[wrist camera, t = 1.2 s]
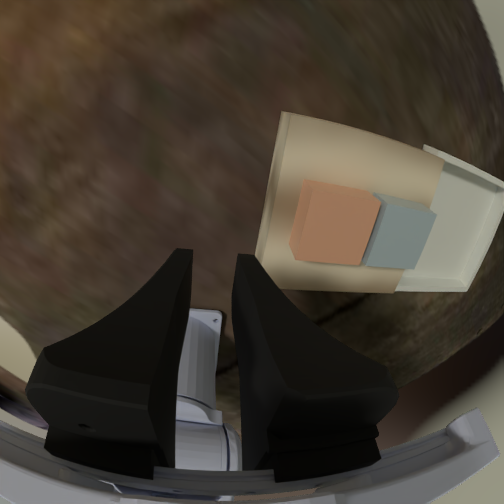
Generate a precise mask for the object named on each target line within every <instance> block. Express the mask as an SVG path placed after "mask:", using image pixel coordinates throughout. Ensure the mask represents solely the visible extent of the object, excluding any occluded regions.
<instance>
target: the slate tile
mask: <svg viewBox="0 0 504 504" xmlns="http://www.w3.org/2000/svg"><path fill="white" fill-rule="evenodd" d="M373 196H374V197H376V198H377V199H378V200H379V201H381V205H380V208H379V211H378V214H377V217H376V220H375V223H374V226H373V229H372V232H371V235H370V238H369V241H368V243H367V246H366V249H365V251H364V254H363V257H362V259H361V260H362V262H363V263H364V264H365V266H374V267H387V268H400V269H413V270H414V269H415V267H416V264H417V262H418V260H419V258H420V255H421V253H422V251H423V249H424V246H425V244H426V241H427V239H428V237H429V234H430V232H431V229H432V227H433V224H434V221H435V219H436V216H437V214H435V213H434V212H433V211H431V210H430V209H429V208H427V207H426V206H425V205H423V204H422V203H418V202H414V201H410V200H406V199H402V198H398V197H393V196H389V195H385V194H380V193H375V192H373Z"/></svg>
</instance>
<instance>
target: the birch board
mask: <svg viewBox="0 0 504 504" xmlns="http://www.w3.org/2000/svg"><path fill="white" fill-rule="evenodd" d="M444 162H445V160H444V159H442V158H440V157H438V156H436V155H433V154H431V153H429V152H426V151H424V150H422V149H419V148H416V147H414V146H411V145H408V144H405V143H402V142H400V141H397V140H394V139H391V138H388V137H385V136H381V135H378V134H375V133H372V132H368V131H365V130H361V129H358V128H354V127H351V126H347V125H343V124H339V123H335V122H331V121H327V120H323V119H319V118H314V117H309V116H305V115H300V114H295V113H290V112H284V111H281V116H280V121H279V127H278V132H277V138H276V143H275V149H274V154H273V160H272V165H271V171H270V176H269V182H268V187H267V193H266V198H265V204H264V209H263V215H262V220H261V225H260V231H259V236H258V242H257V247H256V252H255V257H256V258H257V259H258V261H259V262H260V264H261V265H262V266H263V268H264V269H265V271H266V272H267V273H268V275H269V276H270V277H271V279H272V280H273V281H274V282H275V284H276V285H277V286H278V287H279V289H294V290H314V291H337V292H366V293H394V291H395V289H396V287H397V285H398V283H399V281H400V279H401V277H402V275H403V272H404V270H405V269H400V268H387V267H374V266H365V264H364V263H363V262H362V260H361V262H360V265H349V264H336V263H324V262H311V261H299V260H295V259H294V256H293V253H292V251H291V248H290V246H289V240H290V236H291V232H292V228H293V224H294V219H295V215H296V211H297V207H298V202H299V198H300V193H301V189H302V185H303V180H304V179H306V180H312V181H318V182H324V183H330V184H335V185H341V186H346V187H351V188H356V189H361V190H366V191H368V192H370V193H371V194H372V195H373V192H375V193H380V194H385V195H389V196H393V197H398V198H402V199H406V200H410V201H414V202H418V203H422V204H423V205H425V206H426V207H427V208H429V209H430V206H431V203H432V200H433V197H434V194H435V191H436V188H437V185H438V182H439V179H440V175H441V172H442V169H443V165H444Z"/></svg>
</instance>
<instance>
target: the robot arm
mask: <svg viewBox="0 0 504 504" xmlns="http://www.w3.org/2000/svg"><path fill="white" fill-rule="evenodd" d="M192 263H193V250H191V249H179V248H177V249H175V250H174V251H173V253H172V254H171V255H170V257H169V258H168V259H167V260H166V262H165V263H164V264H163V265H162V266H161V268H160V269H159V270H158V271H157V272H156V273H155V274H154V275H153V277H152V278H151V279H150V280H149V281H148V282H147V283H146V284H145V285H144V286H143V287H142V288H141V289H140V290H139V291H138V292H136V293H135V294H134V295H133V296H132V297H131V298H130V299H129V300H127V301H126V302H125V303H124V304H122V305H121V306H120V307H119V308H117V309H116V310H114V311H113V312H112V313H110V314H109V315H107V316H106V317H104V318H103V319H101V320H100V321H98V322H96V323H95V324H93V325H91V326H89V327H88V328H86V329H84V330H82V331H80V332H78V333H76V334H74V335H72V336H70V337H68V338H66V339H63V340H61V341H59V342H57V343H54V344H52V345H50V346H47V347H44V348H43V350H42V352H41V354H40V355H39V357H38V359H37V361H36V364H35V366H34V369H33V371H32V373H31V376H30V378H29V381H28V383H27V386H26V388H25V392H26V396H27V398H28V400H29V401H30V403H31V404H32V406H33V407H34V408H35V409H36V411H37V412H38V413H39V414H40V415H41V416H42V418H43V419H44V420H45V421H46V422H47V423H48V424H49V429H48V432H47V436H46V439H43V438H40V437H38V436H35V435H33V434H30V433H28V432H25V431H23V430H20V429H18V428H16V427H14V426H11V425H9V424H7V423H5V422H3V421H0V496H1V497H2V498H4V499H5V500H7V501H9V502H11V503H12V504H429V503H431V502H433V501H435V500H436V499H438V498H440V497H441V496H443V495H445V494H446V493H448V492H449V491H451V490H453V489H454V488H455V487H457V486H459V485H460V484H462V483H463V482H464V481H466V480H467V479H469V478H470V477H472V476H473V475H475V474H476V473H477V472H479V471H480V470H482V469H483V468H484V467H486V466H487V465H488V464H490V463H491V462H492V461H494V460H495V459H496V458H497V457H499V456H500V453H499V450H498V448H497V446H496V443H495V441H494V439H493V437H492V435H491V432H490V430H489V428H488V426H487V424H486V422H485V420H484V418H483V416H482V414H481V412H480V410H479V408H475V409H473V410H471V411H468V412H466V413H464V414H462V415H460V416H459V417H457V418H456V419H454V420H453V421H452V422H451V423H449V424H448V425H447V426H446V428H444V429H441V430H439V431H437V432H434V433H432V434H429V435H427V436H424V437H421V438H418V439H415V440H412V441H410V442H407V443H404V444H400V445H398V446H394V447H391V448H387V449H384V450H380V451H379V449H378V447H377V443H376V440H375V438H376V437H378V436H379V432H378V429H377V426H376V424H377V423H378V422H379V421H380V420H382V419H383V418H384V417H385V416H386V414H388V412H390V411H391V409H392V408H393V407H394V406H395V404H396V402H397V400H398V398H399V393H398V390H397V387H396V385H395V383H394V381H393V379H392V376H391V374H390V372H389V370H388V369H387V367H386V366H384V365H382V364H380V363H378V362H376V361H374V360H372V359H370V358H368V357H366V356H364V355H362V354H360V353H358V352H356V351H354V350H353V349H351V348H349V347H348V346H346V345H344V344H343V343H341V342H340V341H338V340H337V339H335V338H334V337H332V336H331V335H329V334H328V333H327V332H325V331H324V330H323V329H321V328H320V327H319V326H317V325H316V324H315V323H314V322H312V321H311V320H310V319H309V318H308V317H307V316H305V315H304V314H303V313H302V312H301V311H300V310H299V309H298V308H297V307H296V306H295V305H294V304H293V303H292V302H291V301H290V300H289V299H288V298H287V297H286V296H285V295H284V293H283V292H282V291H281V290H280V289H279V287H278V286H277V285H276V284H275V282H274V281H273V280H272V279H271V277H270V276H269V275H268V273H267V272H266V271H265V269H264V268H263V266H262V265H261V264H260V262H259V261H258V259H257V258H256V257H255V255H250V254H238V256H237V263H236V270H235V276H234V283H233V290H232V325H233V332H234V339H235V346H236V353H237V360H238V367H239V377H240V401H241V434H242V445H241V441H240V437H239V435H238V433H237V432H236V431H235V430H234V428H233V427H232V425H230V424H228V423H222V411H218V410H216V390H215V372H216V366H217V357H218V348H219V340H220V331H221V323H222V313H221V312H220V311H217V310H203V309H191V308H190V301H191V285H192ZM214 319H218V320H214ZM317 487H320V488H317ZM311 488H317V489H316V491H315V492H314V493H312V494H306V495H300V496H292V497H284V498H275V499H263V500H247V501H234V496H238V495H260V494H273V493H282V492H291V491H298V490H305V489H311Z"/></svg>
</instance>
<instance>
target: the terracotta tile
mask: <svg viewBox="0 0 504 504" xmlns="http://www.w3.org/2000/svg"><path fill="white" fill-rule="evenodd" d="M380 205H381V201H379V200H378V199H377V198H376V197H374V196H373V195H372V194H371V193H370V192H368V191H366V190H361V189H356V188H351V187H346V186H341V185H335V184H330V183H324V182H318V181H312V180H306V179H304V180H303V185H302V189H301V193H300V198H299V202H298V207H297V211H296V215H295V219H294V224H293V228H292V232H291V236H290V240H289V246H290V248H291V251H292V253H293V256H294V259H295V260H299V261H311V262H324V263H336V264H349V265H360V262H361V259H362V257H363V254H364V251H365V249H366V246H367V243H368V241H369V238H370V235H371V232H372V229H373V226H374V223H375V220H376V217H377V214H378V211H379V208H380Z"/></svg>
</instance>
